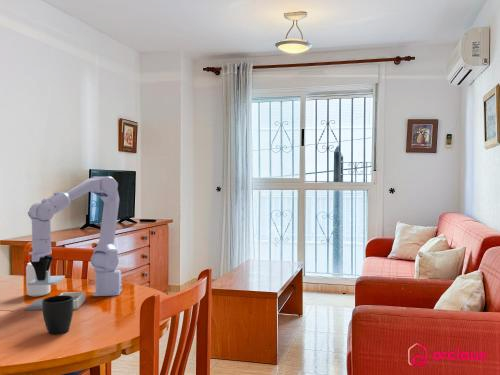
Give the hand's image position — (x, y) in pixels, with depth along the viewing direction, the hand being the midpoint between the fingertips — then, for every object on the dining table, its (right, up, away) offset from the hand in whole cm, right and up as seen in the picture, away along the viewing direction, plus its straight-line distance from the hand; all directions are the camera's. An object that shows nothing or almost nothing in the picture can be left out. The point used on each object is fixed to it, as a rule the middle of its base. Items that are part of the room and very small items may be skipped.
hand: (42, 279), depth 160 cm
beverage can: (-10, -10, +19) cm, 24 cm away
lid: (0, -2, +4) cm, 5 cm away
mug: (+14, -11, -21) cm, 28 cm away
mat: (-2, -10, +5) cm, 11 cm away
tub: (+7, -10, +4) cm, 13 cm away
